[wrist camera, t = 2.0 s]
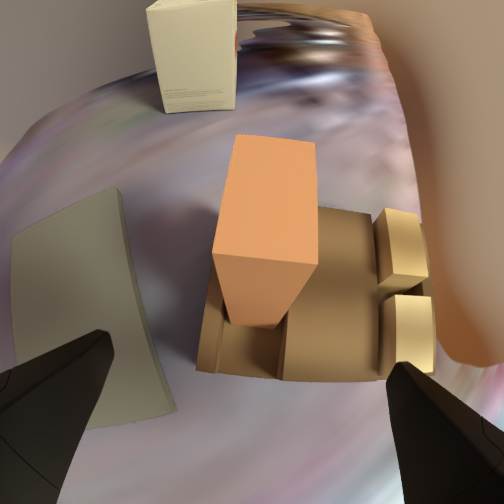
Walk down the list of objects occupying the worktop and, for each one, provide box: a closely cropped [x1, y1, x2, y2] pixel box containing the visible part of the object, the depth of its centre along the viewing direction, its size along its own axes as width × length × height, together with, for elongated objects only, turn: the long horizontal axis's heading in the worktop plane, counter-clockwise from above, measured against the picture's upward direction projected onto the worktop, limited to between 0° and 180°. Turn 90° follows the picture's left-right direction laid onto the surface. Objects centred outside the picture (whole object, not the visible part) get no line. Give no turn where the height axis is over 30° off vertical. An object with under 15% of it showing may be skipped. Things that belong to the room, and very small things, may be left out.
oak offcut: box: [372, 208, 428, 296], centre depth 19 cm, size 5×3×4 cm, turn 174°
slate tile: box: [10, 186, 177, 430], centre depth 18 cm, size 20×14×2 cm
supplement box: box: [146, 0, 237, 114], centre depth 25 cm, size 9×9×15 cm
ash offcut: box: [377, 295, 433, 376], centre depth 16 cm, size 5×3×4 cm, turn 174°
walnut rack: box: [196, 206, 436, 382], centre depth 19 cm, size 12×16×4 cm
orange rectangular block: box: [212, 134, 318, 329], centre depth 14 cm, size 5×3×12 cm, turn 174°
